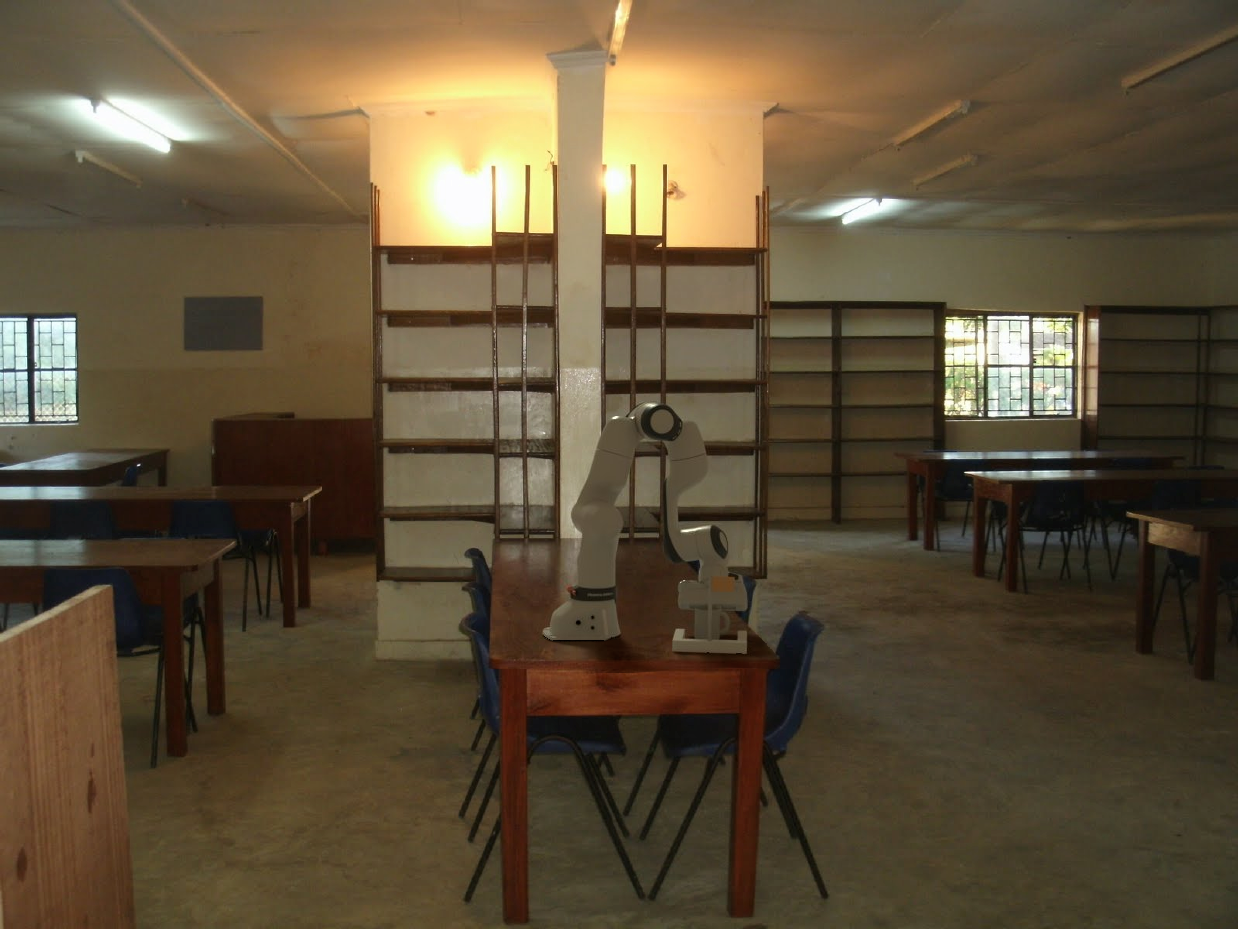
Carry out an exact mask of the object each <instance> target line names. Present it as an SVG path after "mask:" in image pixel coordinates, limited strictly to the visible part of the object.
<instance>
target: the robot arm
mask: <svg viewBox="0 0 1238 929" xmlns="http://www.w3.org/2000/svg"><path fill="white" fill-rule="evenodd" d="M644 439H645V440H648V441H660V442H662V443H663V444H664V445H665V448H666V450H667V454H668V456H667V457H668V461H669V473H668V475H667V477H666V478H664V479H663V482H662V492H661V494H662V496H661V498H662V499H661V500H662V523H663V524H662V527H663V528H662V529H663V534H662V536H663V537H662V539H663V540H662V550H663V555H664V558H666V560H668V561H669V562H670V563H672V564H674V565H680V564H684V563H688V562H693V561H699V564H700V567H699V570H698V580H688V579H686V580H682V581H680V582H679V583H678V584H677V591H678V599H677V604H678V606H677V607H678V608H679V609H680V610H688V611H689V610H693V611H695V607H696V606H703V605H708V575H709V574H712V576H714V577H735V586H734V592H715V591H712V606H717V607H720V611H727V612H728V611H733V612H735V611H737V612H746V610H747V609H748V593H747V589H746V586H745V584H744V578H743V575H742V574H738V573H735V572H731V571H729V570H728V565H729V559H730V557H729V556H730V553H729V541H728V537H727V535H726V534H725V532H724V531H723V530H722V529H721V528H719V526H717V525H715V524H707V525H701V526H696V527H690V528H685V529H684V528H682V529H681V528H680V527H679V511H678V510H679V508H678V502H679V499H680V497H682V495H683V494H684V493H686V492H688V491H689V490H691V489H693V488H694V487H696V486H697V485H699V484H700V483H701V482H703V481H704V479H705V478H706V476H707V474H708V471H709V461H708V456H707V451H706V447H705V443H704V439H703V438H702V434H701V430H700V429H699V426H698V425H697V423H696V422H695V421H694V420H692V419H690V418H680V416H679V415H678V414H677V413H676V412H675V410H674V409H673V408H672V407H671V406H669V405H668V404H665V403H663V402H657V401H645V402H641V403H638V404H637V405H635V406H634V407H633V408H632V409H631V410H630V411H629V413H627V414H626V416H622V415H618V416H617V415H616V416H612V417H610V418H609V419H608V420H607V421H606V423H605V425H604V427H603V429H602V432H601V433H600V436H599V439H598V442H597V444H596V449H595V452H594V454H593V455H594V456H593V459H592V463H591V466H590V468H589V473H588V474H587V475H588V476H587V479H586V480H585V483H584V485H583V487H582V489H581V490H580V493H579V495H578V498H577V500H576V503H574V505H573V506H572V508H571V512H570V518H571V521H572V523H573V526H574V528H575V529H576V531H578V532H579V533H581V543H580V548H579V552H578V555H577V559H576V575H577V576H576V584H575V585H574V586H573V585H570V584H569V585H567V586H566V588H565V589H566V592H568V593H569V596H570V597H569V599H568V600H566V601H565V602H563V604H561V605H560V606H559V607H558V608H556V609H555V610H554V611H553V612H552V615H551V618H550V625H549V626H548V627H544V628H543V629H542V636H543V635H544V636H545V637H547V638H548V639H547V638H546V639H547V640H549V639H550V641H553V640H604V641H607V640H609V639H611V637H612V638H615V637H618V636H620V635H621V630H620V629H621V628H620V626H619V622H618V615H617V614H618V613H617V603H618V602H617V601H618V589H617V588H618V586H617V585H616V557H617V550H618V545H619V540H620V534H621V532H622V531H623V526H624V519H623V516H622V514H621V512H620V510H619V509H618V508H617V507H616V506H615V504H616V502H617V500H618V498H619V495H620V494H621V492H622V491H623V489H624V488H626V485H627V482H628V478H629V474H630V471H631V467H632V464H633V461H634V458H635V457H634V456H635V452H636V449H637V447H638V445H639V443H640V442H641V441H642V440H644ZM544 636H543V637H544ZM545 637H544V638H545Z"/></svg>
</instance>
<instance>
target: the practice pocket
mask: <svg viewBox="0 0 1238 929" xmlns="http://www.w3.org/2000/svg"><path fill="white" fill-rule="evenodd" d="M734 586H735V577H714V576H712V574H709V575H708V639H695V638H685V637H686V629H685V628H675V631H674V633H673V638H672V642H671V644H672V645H671V646H672V648H671V650H672V652H681V653H705V654H706V653H707V652H709V653H710V654H712V653H713V654H736V653H742V655H743V654H744V655H746V654H747V653H748V652H747V650H748V649H747V648H748V647H747V646H748V631H747V630H738V631H737V639H736V640H735V639H733V640H732V639H719V640H712V591H715V592H734ZM707 654H708V653H707Z"/></svg>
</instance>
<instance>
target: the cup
mask: <svg viewBox="0 0 1238 929" xmlns="http://www.w3.org/2000/svg"><path fill="white" fill-rule="evenodd" d="M721 618H723V627H722V628H721ZM730 625H731V620H730V616H729V615H728V613H727V612H725V611H724V610H721V611H720V607H717V606H712V640H721V639H720V637H721V636H723V635H725V634H726V633H728V632H729V630H730ZM694 639H708V605H703V606H696V607H695V610H694Z"/></svg>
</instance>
